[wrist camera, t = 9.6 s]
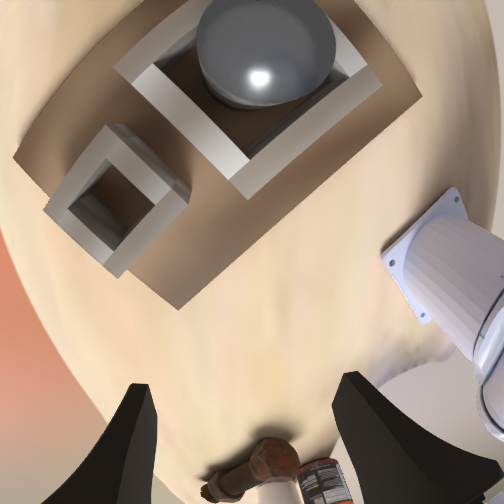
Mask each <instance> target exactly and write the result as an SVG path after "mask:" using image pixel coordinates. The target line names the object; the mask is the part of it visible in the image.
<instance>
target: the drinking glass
mask: <svg viewBox="0 0 504 504" xmlns="http://www.w3.org/2000/svg"><path fill="white" fill-rule="evenodd" d="M257 494H258V502H259V504H302V503H301V500H300V497H299V494H298V490H297V487H296V484H295V482H294V481H289V482H287V483H285V482H270V483H266V484H264V485H261V486H260V487H258V489H257Z"/></svg>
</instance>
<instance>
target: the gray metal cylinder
mask: <svg viewBox="0 0 504 504" xmlns="http://www.w3.org/2000/svg"><path fill="white" fill-rule="evenodd" d="M196 44H197V51H198V57H199V63H200V68H201V74H202V79H203V82H204V85H205V87H206V89H207V91H208V92H209V93H210V95H211V96H212V97H213V98H214V99H215V100H216V101H218V102H219V103H220V104H222V105H224V106H226V107H228V108H231V109H234V110H239V111H254V110H259V109H262V108H266V107H270V106H273V105H277V104H281V103H285V102H289V101H292V100H296V99H299V98H301V97H303V96H305V95H307V94H309V93H311V92H312V91H313V90H315V89H316V88H317V87H319V86H320V85H321V83H322V82H323V81H324V80H325V79H326V77H327V76H328V75H329V73H330V71H331V69H332V67H333V64H334V61H335V56H336V38H335V34H334V30H333V28H332V25H331V23H330V21H329V19H328V17H327V16H326V14H325V13H324V12H323V10H322V9H321V8H320V7H319V6H318V5H317V4H316V3H315V2H314V1H313V0H214V1H212V2H211V4H210V5H209V6H208V7H207V8H206V10H205V11H204V13H203V14H202V17H201V19H200V21H199V24H198V28H197V34H196Z"/></svg>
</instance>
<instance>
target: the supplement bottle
mask: <svg viewBox="0 0 504 504" xmlns="http://www.w3.org/2000/svg"><path fill="white" fill-rule="evenodd" d="M297 478H298V482H299V485H300V489H301V493H302V496H303V500H304V503H305V504H354V503H353V500H352V498H351V495H350V492H349V489H348V486H347V484H346V481H345V479H344V476H343V473H342V470H341V468H340V465H339V463H338V461H337V460H335V459H331V458H327V459H319V460H316V461H313V462H311V463H308V464H306V465H304V466H303V467H301V468H300V469H299V471H298V473H297Z"/></svg>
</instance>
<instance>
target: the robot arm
mask: <svg viewBox="0 0 504 504" xmlns="http://www.w3.org/2000/svg"><path fill="white" fill-rule="evenodd" d="M455 197H456V199H455ZM454 200H455V201H454ZM381 260H382V262H383V264H384V265H385V267H386V268H387V270H388V271H389V273H390V274H391V276H392V278H393V279H394V281H395V282H396V284H397V285H398V287H399V289H400V290H401V292H402V293H403V295H404V297H405V298H406V300H407V302H408V303H409V305H410V307H411V308H412V310H413V312H414V313H415V315H416V317H417V318H418V320H419V322H420V323H421V324H422V325H426V324H427V323H428V322H430V321H431V320H432V319H433V321H434V322H435V323H436V324H437V325H438V326H439V327H440V328H441V329H442V330H443V331H444V333H445V334H446V335H447V336H448V337H449V338H450V339H451V340H452V341H453V343H454V344H455V345H456V346H457V347H458V348H459V349H460V351H461V352H462V353H463V354H464V355H465V356H466V357H467V358H468V359H469V360H471V361H472V362H474V363H475V367H474V370H473V372H472V375H473V377H474V378H475V379H476V380H477V381H478V383H479V384H480V386H479V388H478V392H477V409H478V412H479V416H480V418H481V420H482V422H483V423H484V425H485V426H486V428H487V429H488V430H489V431H490V432H491V434H493V435H494V436H495V437H496V438H498V439H499V440H501V441H503V442H504V240H502V239H501V238H499V237H497V236H496V235H494V234H492V233H490V232H489V231H487V230H485V229H483V228H482V227H480V226H478V225H476V224H475V223H473V222H471V221H469V218H468V215H467V212H466V210H465V207H464V204H463V201H462V199H461V196H460V194H459V191H458V189H457V188H455V187H450V188H449V189H448V190H447V191H446V192H445V193H444V194H443V195H442V196H441V197H440V198H439V199H438V200H437V201H436V202H435V203H434V204H433V205H432V206H431V207H430V208H429V209H428V210H427V211H426V212H425V213H424V214H423V215H422V216H421V217H420V218H419V219H418V220H417V221H416V222H415V223H414V224H413V225H412V226H411V227H410V228H409V229H408V230H407V231H406V232H405V233H404V234H403V235H402V236H400V237H399V238H398V239H397V240H396V241H395V242H394V243H393V244H392V245H391V246H390V247H389V248H387V249H386V250H385V251H384V252H383V253H382V256H381ZM391 260H393V261H392V262H391V263H390V261H391ZM389 263H390V264H389ZM332 409H333V413H334V417H335V421H336V424H337V428H338V430H339V433H340V435H341V437H342V440H343V442H344V444H345V447H346V449H347V452H348V454H349V457H350V459H351V461H352V464H353V466H354V468H355V471H356V474H357V476H358V480H359V484H360V487H361V492H362V495H363V500H364V504H483V503H482V501H484V500H485V496H484V494H483V493H484V492H486V491H487V490H488V489H490V488H491V487H492V486H494V485H495V484H496V483H497V482H499V481H500V480H501V479H502V478H503V477H504V472H503V470H502V469H501V467H500V465H499V464H498V462H497V461H496V460H492V459H488V458H484V457H481V456H477V455H475V454H472V453H470V452H467V451H464V450H462V449H460V448H457V447H455V446H453V445H451V444H449V443H447V442H445V441H443V440H442V439H440V438H438V437H436V436H435V435H433V434H432V433H430V432H428V431H427V430H425V429H424V428H422V427H421V426H420V425H418V424H417V423H415V422H414V421H413V420H412V419H410V418H409V417H408V416H406V415H405V414H404V413H403V412H401V411H400V410H399V409H398V408H397V407H395V406H394V405H393V404H392V403H391V402H390V401H389V400H388V399H387V398H386V397H384V396H383V395H382V394H381V393H380V392H379V391H378V390H377V389H376V388H375V387H374V386H373V385H372V384H371V383H370V382H369V381H368V380H367V379H366V378H365V377H363V376H362V375H361V374H360V373H359V372H358V371H354V372H348V373H344V374H343V376H342V379H341V382H340V384H339V387H338V390H337V392H336V395H335V398H334V400H333V403H332ZM156 444H157V413H156V410H155V406H154V403H153V399H152V396H151V392H150V389H149V385H148V384H136V383H132V384H131V385H130V386H129V388H128V390H127V392H126V394H125V396H124V398H123V400H122V402H121V404H120V405H119V407H118V409H117V411H116V413H115V414H114V416H113V418H112V419H111V421H110V423H109V424H108V426H107V428H106V430H105V431H104V433H103V434H102V436H101V437H100V439H99V440H98V442H97V443H96V444H95V446H94V447H93V449H92V450H91V452H90V453H89V454H88V456H87V457H86V458H85V460H84V461H83V462H82V463H81V464H80V466H79V467H78V468H77V469H76V471H75V472H74V473H73V474H72V475H71V476H70V477H69V478H68V479H67V480H66V481H65V482H64V483H63V484H62V485H61V486H60V487H59V488H58V489H57V490H56V491H55V492H54V493H53V494H52V495H50V496H49V497H48V498H47V499H46V500H45V501H44V502H42V503H41V504H151V487H152V478H153V469H154V461H155V453H156ZM485 504H504V490H503V491H502V492H500V493H499V494H497V495H496V496H495V497H493V498H492V499H491V500H490V501H488V502H487V503H485Z"/></svg>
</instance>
